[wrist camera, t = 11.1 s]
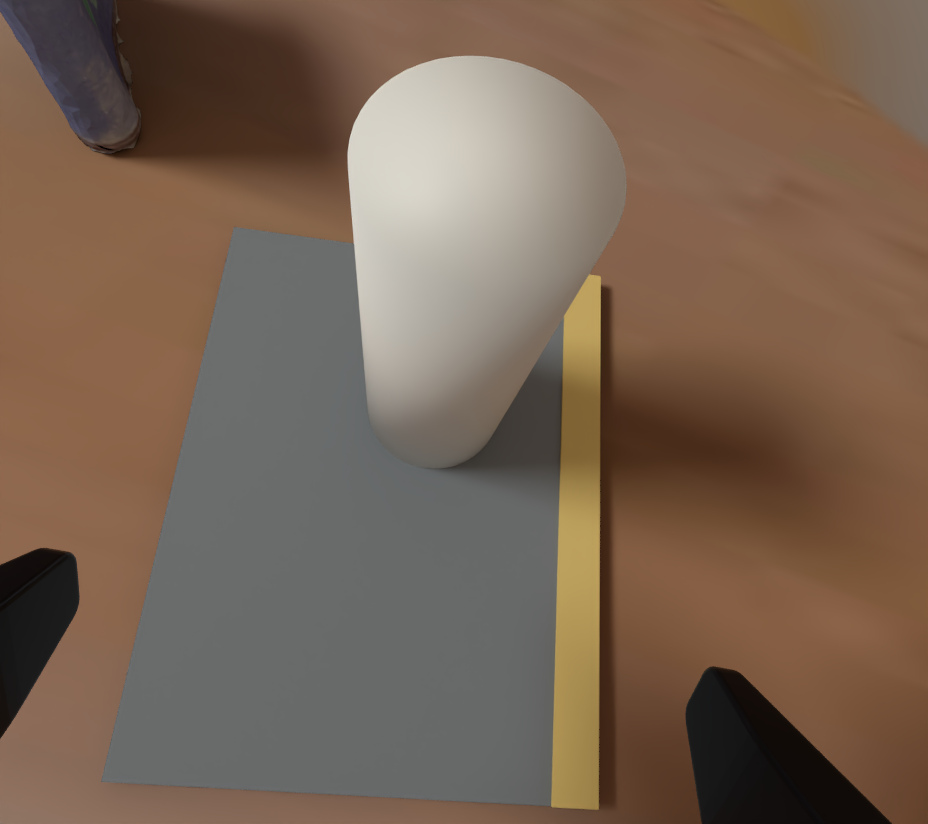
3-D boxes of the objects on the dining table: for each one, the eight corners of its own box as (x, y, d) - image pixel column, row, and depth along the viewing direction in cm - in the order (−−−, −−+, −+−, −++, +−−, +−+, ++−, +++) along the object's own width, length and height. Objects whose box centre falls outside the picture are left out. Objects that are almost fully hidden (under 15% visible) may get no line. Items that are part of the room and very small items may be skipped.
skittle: (519, 440, 21) (675, 240, 10) (396, 489, 20) (412, 327, 9) (467, 328, 22) (553, 33, 11) (348, 368, 21) (306, 88, 10)
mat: (592, 803, 18) (598, 809, 18) (109, 777, 17) (99, 782, 16) (595, 284, 24) (600, 276, 24) (236, 234, 23) (233, 225, 22)
